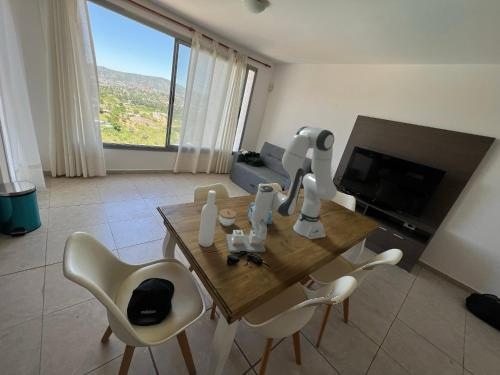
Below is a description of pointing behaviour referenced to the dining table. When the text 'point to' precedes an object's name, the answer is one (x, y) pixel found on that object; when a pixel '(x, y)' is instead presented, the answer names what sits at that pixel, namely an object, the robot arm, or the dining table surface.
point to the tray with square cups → (244, 244)
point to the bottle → (208, 221)
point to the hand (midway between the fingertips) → (255, 236)
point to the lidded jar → (227, 217)
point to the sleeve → (253, 238)
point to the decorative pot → (268, 216)
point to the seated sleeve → (237, 238)
